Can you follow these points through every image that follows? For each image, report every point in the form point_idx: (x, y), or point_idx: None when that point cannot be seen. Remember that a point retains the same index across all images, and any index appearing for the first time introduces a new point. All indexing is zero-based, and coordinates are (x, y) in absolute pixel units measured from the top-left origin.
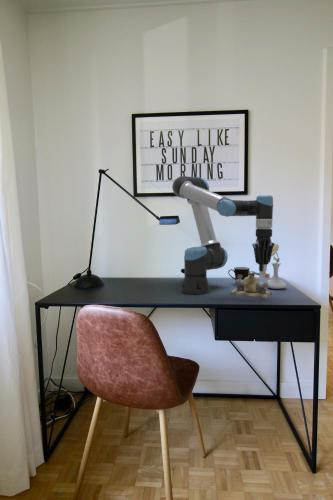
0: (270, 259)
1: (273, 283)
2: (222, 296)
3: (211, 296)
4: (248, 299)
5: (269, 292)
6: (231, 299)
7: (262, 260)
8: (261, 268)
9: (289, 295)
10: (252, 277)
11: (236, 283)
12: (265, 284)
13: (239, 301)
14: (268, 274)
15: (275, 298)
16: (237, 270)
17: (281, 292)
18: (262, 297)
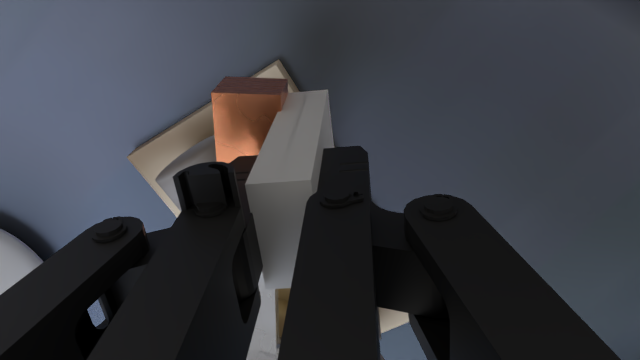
0: (46, 262)
1: (3, 280)
2: (554, 266)
3: (624, 301)
4: (448, 100)
5: (164, 145)
6: (572, 166)
7: (361, 242)
8: (360, 168)
9: (8, 37)
10: (282, 308)
11: (380, 357)
12: (213, 158)
13: (570, 83)
14: (236, 93)
15: (202, 12)
16: None
17: (20, 152)
18: (296, 88)
